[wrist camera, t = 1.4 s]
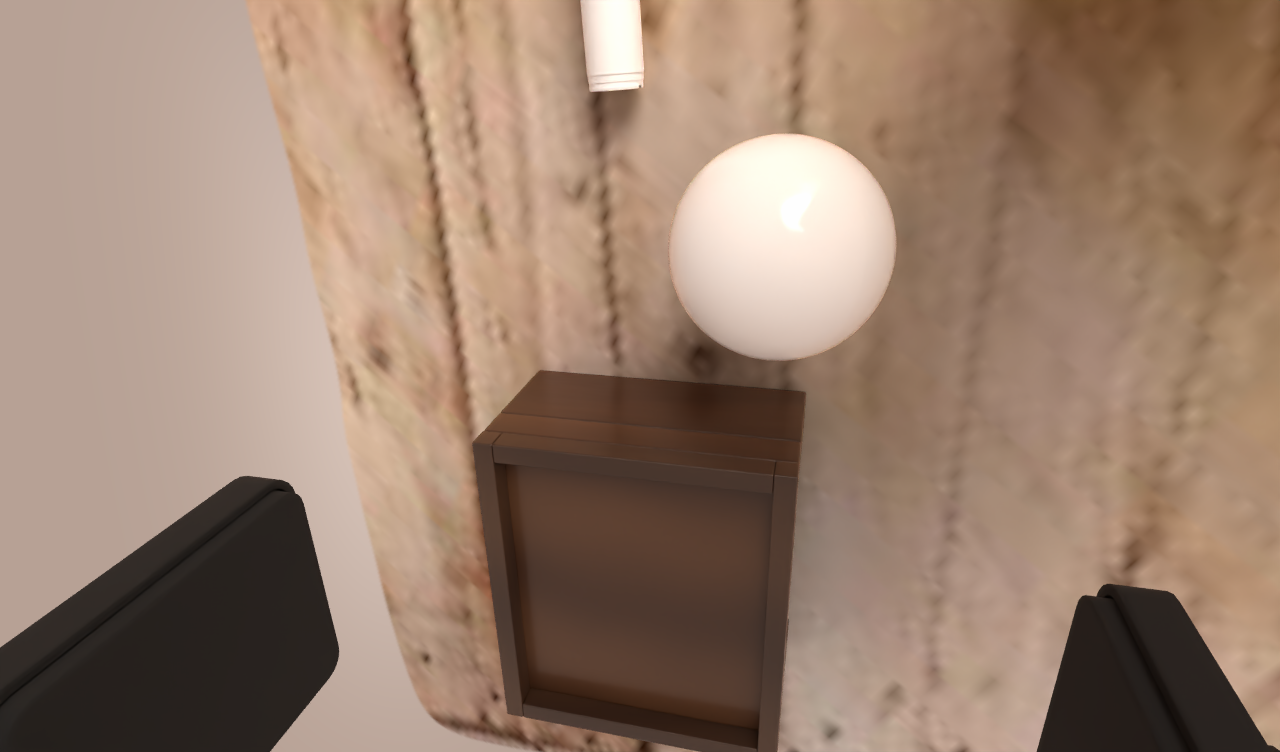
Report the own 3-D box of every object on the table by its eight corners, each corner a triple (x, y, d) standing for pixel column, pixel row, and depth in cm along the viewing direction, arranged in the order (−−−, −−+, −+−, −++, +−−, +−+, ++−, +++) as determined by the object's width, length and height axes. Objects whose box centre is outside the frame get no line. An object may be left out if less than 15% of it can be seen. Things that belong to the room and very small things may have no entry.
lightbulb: (728, 96, 27) (665, 127, 17) (903, 127, 26) (941, 176, 16) (698, 261, 30) (630, 367, 20) (855, 294, 29) (864, 422, 19)
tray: (539, 369, 34) (471, 442, 28) (806, 391, 31) (797, 477, 25) (559, 609, 39) (507, 714, 33) (786, 645, 37) (776, 767, 31)
